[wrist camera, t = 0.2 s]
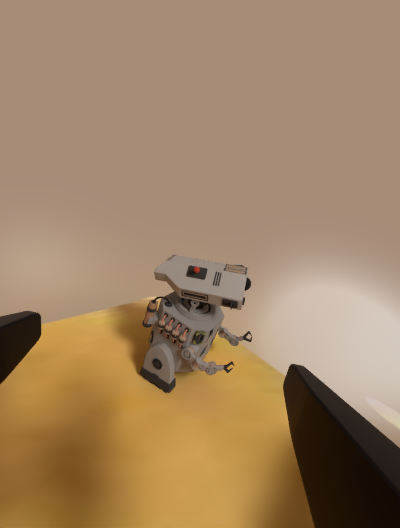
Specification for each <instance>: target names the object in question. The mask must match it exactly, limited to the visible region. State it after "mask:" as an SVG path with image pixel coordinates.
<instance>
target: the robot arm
mask: <svg viewBox="0 0 400 528" xmlns="http://www.w3.org/2000/svg"><path fill="white" fill-rule="evenodd" d="M40 336H41V316H40V314H39V313H36V312H31V311H24V312H20V313H15V314H10V315H6V316H1V317H0V384H1V383H2V382H3V381H4V380H5V379H6V378H7V377H8V375H9V374H10V373H11V372H12V371H13V370H14V369H15V367H16V366H17V365H18V364H19V363H20V361H21V360H22V359H23V358H24V357H25V356H26V354H27V353H28V352H29V351H30V350H31V348H32V347H33V346H34V345H35V344H36V342H37V341H38V340H39V338H40ZM283 391H284V397H285V403H286V409H287V415H288V421H289V427H290V433H291V438H292V443H293V447H294V451H295V454H296V458H297V462H298V466H299V470H300V473H301V477H302V481H303V485H304V489H305V492H306V496H307V500H308V504H309V507H310V511H311V515H312V519H313V523H314V526H315V528H400V448H399V447H398V446H397V445H395V444H394V443H393V442H392V441H391V440H390V439H388V438H387V437H386V436H385V435H384V434H382V433H381V432H380V431H379V430H378V429H377V428H375V427H374V426H373V425H372V424H371V423H370V422H369V421H367V420H366V419H365V418H364V417H362V416H361V415H360V414H359V413H358V412H357V411H356V410H354V409H353V408H352V407H351V406H350V405H349V404H347V403H346V402H345V401H344V400H343V399H341V398H340V397H339V396H338V395H337V394H336V393H334V392H333V391H332V390H331V389H330V388H329V387H327V386H326V385H325V384H324V383H323V382H322V381H320V380H319V379H318V378H317V377H316V376H314V375H313V374H312V373H311V372H310V371H309V370H308V369H306V368H305V367H304V366H301V365H296V364H291V365H290V366H289V369H288V372H287V375H286V378H285V381H284V384H283Z"/></svg>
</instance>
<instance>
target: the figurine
mask: <svg viewBox="0 0 400 528" xmlns="http://www.w3.org/2000/svg"><path fill="white" fill-rule="evenodd" d="M247 273H248V268H247V267H244V266H242V265H229V264H224V263H218V262H213V261H206V260H201V259H195V258H190V257H184V256H178V255H172V256H171V257H170V258H168V259H167V260H165V261H164V262H163V263H162V264H160V265H159V266H158V267H156V268H155V271H154V274H155V278H156V279H157V280H161V281H166V282H167V283H168V284H169V285H170V286H171V287H172V289H173V290H174V292H173V293H171V294H169V295H167V296H165V297H157V298H155V299H154V300H150V302H149V305H148V307H147V312H146V315H145V319H144V320H143V326H144V327H151V326H152V325H153V327H152V331H151V334H150V337H149V345H150V349H149V350H148V352H147V353H146V356H145V359H144V365H143V367H142V368H141V371H140V374H141V375H142V376H143V377H144V379H148V380H149V382H150V383H154V384H156V385H157V386H158V388H160V389H161V388H162V389H163V390H164V392H166V393H167V392H168V393H170V392H171V391H172V389H173V388H174V387H175V378H174V373H175V371H176V372H192V371H193V370H194V371H197V370H198V369H199V370H200V371H206V373H207V374H208V375H213V374H215V373H216V372H217V371H222V370H223V369H224V370H225V371H226V372H227V373H229V372H230V371H231V370H232V369H233V368H232V369H230V370H228V369H227V367H229V366H230V365H231V364H232V365H233V366H234V364H233V362H230V363H229V364H227V365H216V363H215V362H209V363H207V362H205V361H203V359H204V358H205V356H206V355H207V353H208V351H209V349H210V347H211V345H212V342H213V340H214V338H215V336H216V334H217V332H218V331H219V333H218V334H219V336H220V337H221V338H223V337H224V338H225V339H226V340H228V341H229V343H230V344H231V345H233V346H237V345H238V344H239V342H238V341H242V340H246V341H249V342H251V340H252V337H251V339H250V340H249V339H247V338H246V336H247V335H248V334H250V335H251V333H250V332H249V331H248V332H247V333H246V334H245V335H244V336H241V337H237V336H235V335H232V334H231V333H230V332H229V331H228V329H227V328H223V327H222V326H221V323H222V321H223V318H224V314H223V312H222V310H221V309H220V306H224V307H229V308H231V309H232V308H233V309H238V310H241V307H242V305H244V302H245V298H244V297H243V295H244V291H246V290H248V289H249V288H250V286H251V281H250V279H248V278H247ZM158 298H162V299H161V302H160V305H159V308H158V311H156V309H157V304H158V302H157V301H156V300H157V299H158ZM251 336H252V335H251Z"/></svg>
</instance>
